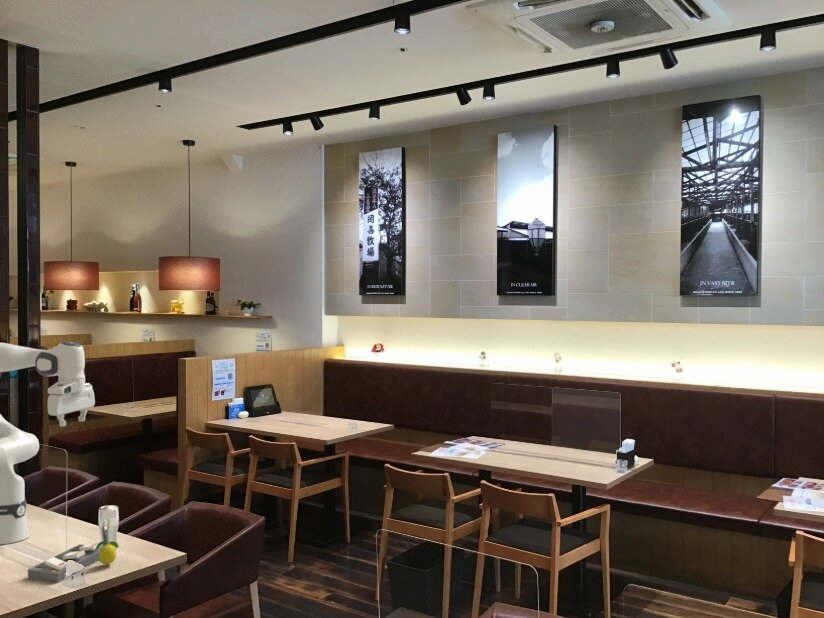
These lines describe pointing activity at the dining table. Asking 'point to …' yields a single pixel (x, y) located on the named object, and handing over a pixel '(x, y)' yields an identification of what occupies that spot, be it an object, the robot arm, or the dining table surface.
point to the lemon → (107, 552)
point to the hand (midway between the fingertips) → (72, 423)
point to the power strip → (55, 575)
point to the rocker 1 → (56, 563)
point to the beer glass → (108, 523)
